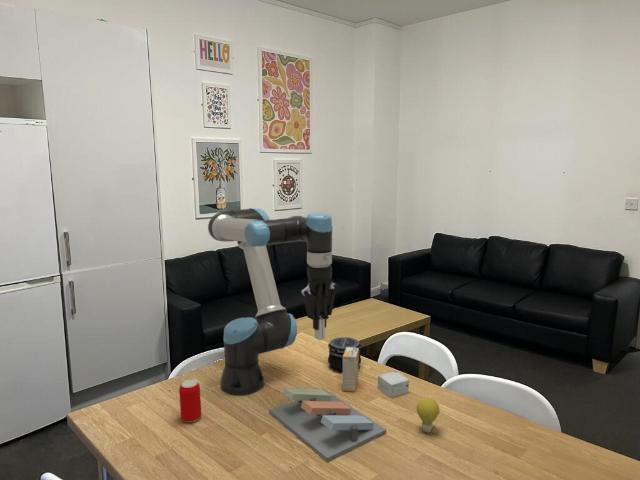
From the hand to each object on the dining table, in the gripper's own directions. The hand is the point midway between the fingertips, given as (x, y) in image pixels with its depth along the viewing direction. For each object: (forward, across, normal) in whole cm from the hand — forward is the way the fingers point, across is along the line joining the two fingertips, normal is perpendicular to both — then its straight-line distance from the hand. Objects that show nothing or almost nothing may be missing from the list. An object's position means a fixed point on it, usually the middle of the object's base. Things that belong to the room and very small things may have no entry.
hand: (319, 338), depth 149 cm
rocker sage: (+20, -3, +3) cm, 21 cm away
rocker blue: (+20, -3, -17) cm, 27 cm away
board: (+24, -3, -7) cm, 26 cm away
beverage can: (+25, -35, +20) cm, 47 cm away
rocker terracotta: (+20, -3, -7) cm, 22 cm away
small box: (+25, +28, -5) cm, 38 cm away
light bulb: (+25, +19, -28) cm, 42 cm away
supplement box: (+25, +18, +6) cm, 31 cm away
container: (+25, +26, +19) cm, 41 cm away
